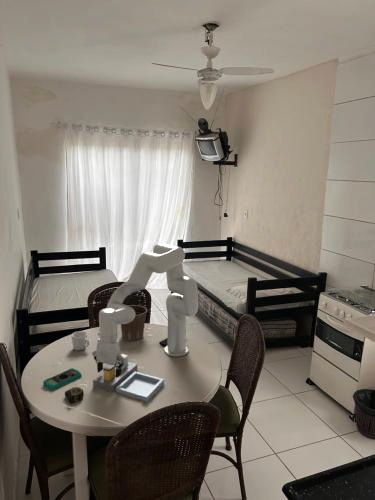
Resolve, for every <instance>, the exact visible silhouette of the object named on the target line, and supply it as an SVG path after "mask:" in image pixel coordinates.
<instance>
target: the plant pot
mask: <svg viewBox="0 0 375 500" xmlns="http://www.w3.org/2000/svg"><path fill="white" fill-rule="evenodd" d="M128 306H129V307H131V308H133V309H134V311H135V318H134V319H133V321H131V322H130V323H126V324H120V330H121V331H120V332H121V337H122V339H123V340H124V341H128V342H129V341H130V342H134V341H135V342H136V341H137V340H141V339H143V337H144V332H145V323H146V318H147V313H148V309H147V308H146V306H143V305H135V304H131V305H128Z"/></svg>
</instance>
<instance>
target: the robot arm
mask: <svg viewBox="0 0 375 500" xmlns="http://www.w3.org/2000/svg"><path fill="white" fill-rule="evenodd" d="M152 251H153V252H151V251H145V252H142V253H141V254H140V256H139V258H138V260H137V262H136V264H135V266H134V268H133V269H132V272H131V274H130V276H129V278H128V279H127V280H126V281H125V282H123V283H122V284H121V285H119V286H118V287H117V288H116V289H115V290H114V292H113V293H112V294H111V296H110V297H109V299H108V300H109V301H108V302H107V304H106V305H107V306H106V308H102V309H100V310H99V313H98V322H99V324H98V326H99V327H98V329H99V332H97V335H98V336H99V338H98V339H97V342H96V350H94V351H92V352H91V354H92V356H93V359H94V360H95V363H96V365H97V366H96V369H97V373H101V372H103V368H104V364H106V365H108V364H109V365H115V367H116V368H117V369H116V378H118V377H119V376H120V375H121V367H122V366H123V365H125V363H126V359H125V358H124V357H122V356H121V355H122V354H121V346H120V341H119V339H118V326H119V325H121V324H126V323H130V322H131V321H133V319H134V318H135V311H134V309H133V308H131V307H129V305H126V304H124V301H125V299H126V298H127V297H128V296H129V295H131V294H132V293H135V292H139V291H142V290H144V289H146V287H147V286H148V283H149V281H150V279H151V277H152V275H153V273H155V274H164V273H166V284H167V289H168V291H170V292H172V293H170V294H169V295H168V296H167V297H166V301H165V306H166V312H167V345H166V346H165V347H164V353H165V354H166V355H168V356H169V357H177V358H178V357H183V356H185V355H187V354H188V353H189V347H188V346H187V344H186V343H187V342H188V338H187V317H194V316H195V315H196V314H197V312H198V310H199V290H198V284H197V281H196V280H195V279H194V278H193V277H191V276H188V275H187V276H186V274H185V273H184V268H183V267H184V266H183V262H184V260H185V257H186V251H185V250H184V248H182V247H181V246H177V245H173V244H168V243H162V242H161V243H160V242H159V243H156V244H155V245H154V246H153V247H152ZM120 360H121V361H122V363H121V362H120ZM117 363H118V364H119V366H118V364H117Z"/></svg>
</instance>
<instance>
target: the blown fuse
mask: <svg viewBox="0 0 375 500" xmlns="http://www.w3.org/2000/svg"><path fill="white" fill-rule="evenodd" d="M102 373H103V375H104V380H107V381H110V380H112V379H113V378H114V377H115V365H109V364H106V365H105V367H104V366H103V370H102Z"/></svg>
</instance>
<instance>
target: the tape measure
mask: <svg viewBox="0 0 375 500" xmlns="http://www.w3.org/2000/svg"><path fill="white" fill-rule="evenodd" d="M84 395H85V394H84V390H83V389H82V388H81V387H79V386H78V387H75V386H74V387H72V388H69V389H67V390H66V391H64V397H65V398H66V399H67V401H68V403H69V404H71V405H73V404H74V403H76V402H80V401H81V400H82V399H83V398H84V397H85V396H84Z"/></svg>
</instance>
